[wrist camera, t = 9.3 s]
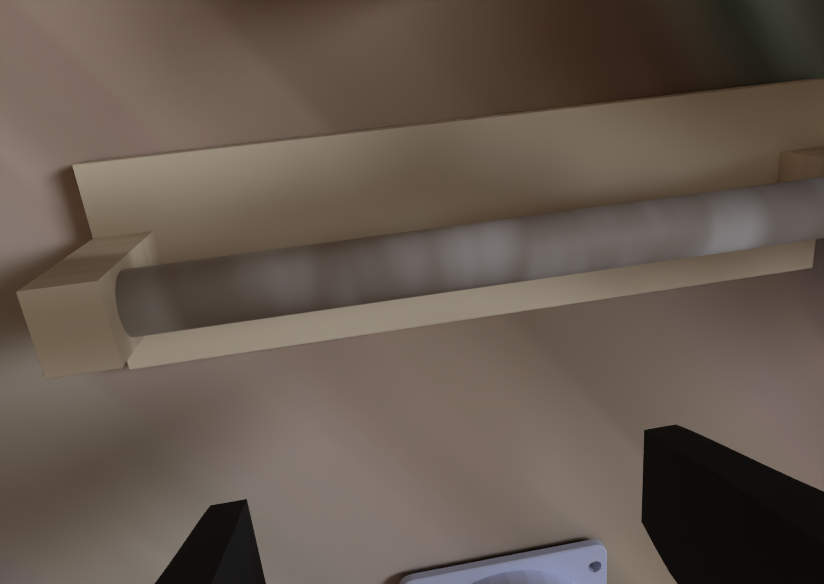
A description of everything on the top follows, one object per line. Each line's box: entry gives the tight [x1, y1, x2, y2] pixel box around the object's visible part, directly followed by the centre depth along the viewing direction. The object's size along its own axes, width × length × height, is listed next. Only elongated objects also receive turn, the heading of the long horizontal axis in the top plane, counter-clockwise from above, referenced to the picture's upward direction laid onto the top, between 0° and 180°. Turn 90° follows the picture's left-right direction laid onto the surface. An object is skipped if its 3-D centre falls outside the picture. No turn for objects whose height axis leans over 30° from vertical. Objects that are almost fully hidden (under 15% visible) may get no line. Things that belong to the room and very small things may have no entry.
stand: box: [16, 78, 824, 379], centre depth 17 cm, size 6×22×5 cm, turn 96°
